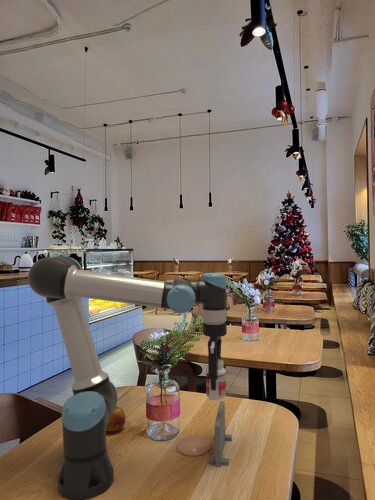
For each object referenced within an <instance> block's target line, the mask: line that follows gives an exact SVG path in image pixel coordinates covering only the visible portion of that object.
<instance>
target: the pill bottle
mask: <svg viewBox="0 0 375 500" xmlns="http://www.w3.org/2000/svg"><path fill="white" fill-rule="evenodd" d="M205 373H206V374H205V375H206V376H205V382H206V383H205V384H206V385H205V390H206V391H205V395H206V397H207V398H209V379H207V377H208V367H207V368H206V371H205ZM226 373H227V370H226V369H225V368H224V360H222V359H221V360H220V359H218V400H223V399H224V398H225V397H226V394H227V393H226V392H227V388H226V385H227V383H226V382H227V380H226V378H227V374H226Z"/></svg>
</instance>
